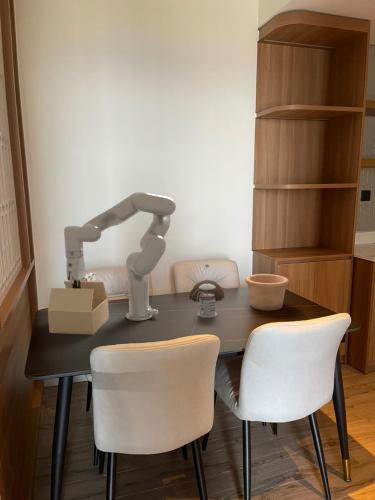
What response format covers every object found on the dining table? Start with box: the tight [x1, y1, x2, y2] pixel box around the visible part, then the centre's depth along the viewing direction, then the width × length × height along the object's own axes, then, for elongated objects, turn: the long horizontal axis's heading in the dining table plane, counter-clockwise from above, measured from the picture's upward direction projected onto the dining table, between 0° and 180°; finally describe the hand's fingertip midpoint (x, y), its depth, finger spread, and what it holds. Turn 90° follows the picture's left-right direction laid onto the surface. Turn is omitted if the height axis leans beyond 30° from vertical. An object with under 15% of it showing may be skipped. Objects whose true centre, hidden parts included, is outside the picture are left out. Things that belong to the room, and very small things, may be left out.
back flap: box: [63, 280, 108, 298], centre depth 180 cm, size 19×10×1 cm
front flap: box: [47, 287, 94, 312], centre depth 164 cm, size 19×10×1 cm
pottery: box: [244, 273, 290, 311], centre depth 198 cm, size 22×22×14 cm
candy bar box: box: [81, 272, 97, 282], centre depth 203 cm, size 11×5×16 cm, turn 168°
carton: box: [47, 297, 110, 335], centre depth 173 cm, size 20×20×10 cm
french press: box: [196, 264, 218, 318], centre depth 184 cm, size 10×12×25 cm
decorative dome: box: [189, 279, 225, 302], centre depth 215 cm, size 19×20×10 cm
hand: (77, 294), depth 170 cm, fingers closed
